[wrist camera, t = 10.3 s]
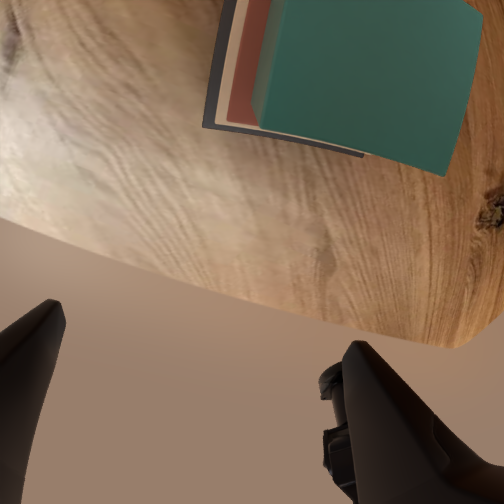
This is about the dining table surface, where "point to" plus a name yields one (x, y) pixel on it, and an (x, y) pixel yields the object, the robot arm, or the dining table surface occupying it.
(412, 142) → the toy cube
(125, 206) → the dining table surface
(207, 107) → the stack
